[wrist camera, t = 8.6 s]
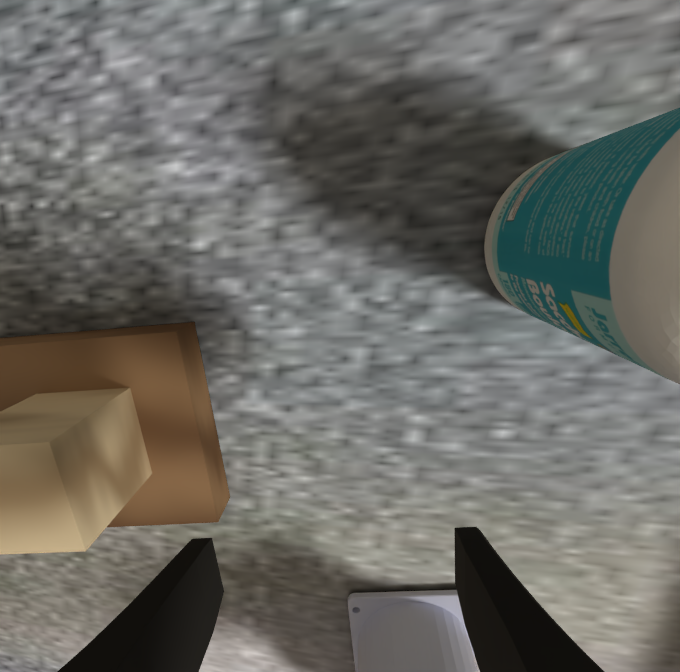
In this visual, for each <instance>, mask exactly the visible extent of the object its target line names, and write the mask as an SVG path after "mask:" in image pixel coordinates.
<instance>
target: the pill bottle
mask: <svg viewBox="0 0 680 672" xmlns="http://www.w3.org/2000/svg"><path fill="white" fill-rule="evenodd" d="M484 252H485V261H486V266H487V270H488V273H489V275H490V278H491V280H492V282H493V284H494V285H495V287H496V288H497V290H498V291H499V292H500V294H501V295H502V296H503V297H504V298H505V299H506V300H507V301H508V302H509V303H511V304H512V305H513V306H515V307H516V308H518V309H519V310H521V311H523V312H525V313H527V314H529V315H531V316H533V317H536V318H538V319H540V320H542V321H545V322H547V323H549V324H551V325H553V326H555V327H557V328H559V329H562V330H564V331H566V332H568V333H570V334H572V335H575V336H577V337H579V338H581V339H584V340H586V341H588V342H590V343H592V344H594V345H596V346H599V347H601V348H603V349H605V350H607V351H610V352H612V353H614V354H616V355H618V356H620V357H622V358H624V359H627V360H629V361H631V362H633V363H635V364H637V365H639V366H642V367H644V368H646V369H648V370H650V371H652V372H654V373H656V374H658V375H660V376H663V377H665V378H667V379H669V380H671V381H674V382H676V383H678V384H680V108H678V109H675V110H672V111H670V112H667V113H665V114H662V115H659V116H657V117H654V118H652V119H649V120H646V121H644V122H641V123H638V124H636V125H633V126H631V127H628V128H625V129H623V130H620V131H618V132H615V133H612V134H610V135H607V136H604V137H602V138H599V139H597V140H594V141H591V142H589V143H586V144H583V145H581V146H578V147H576V148H573V149H570V150H567V151H565V152H562V153H560V154H558V155H555V156H553V157H550V158H548V159H546V160H543V161H541V162H539V163H538V164H536V165H534V166H533V167H531V168H529V169H528V170H527V171H525V172H524V173H523V174H521V175H520V176H519V177H518V178H517V179H516V180H515V181H514V182H513V183H512V184H511V185H510V186H509V187H508V188H507V190H506V191H505V192H504V193H503V195H502V196H501V198H500V199H499V201H498V202H497V204H496V206H495V208H494V210H493V212H492V214H491V217H490V219H489V222H488V226H487V230H486V235H485V243H484Z"/></svg>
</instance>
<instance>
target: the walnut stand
mask: <svg viewBox="0 0 680 672" xmlns="http://www.w3.org/2000/svg"><path fill="white" fill-rule="evenodd" d="M117 388H130V389H131V393H132V397H133V401H134V405H135V408H136V412H137V416H138V420H139V424H140V428H141V432H142V436H143V439H144V443H145V447H146V451H147V455H148V459H149V463H150V467H151V470H152V474H151V476H150V477H149V478H148V479H147V480H146V481H145V483H144V484H143V485H142V486H141V487H140V488H139V490H138V491H137V492H136V493H135V494H134V496H133V497H132V498H131V499H130V500H129V501H128V503H127V504H126V505H125V506H124V507H123V508H122V510H121V511H120V512H119V513H118V514H117V515H116V517H115V518H114V519H113V520H112V521H111V522H110V524H109V525H108V526H107V527H121V526H144V525H166V524H188V523H210V522H218V521H219V519H220V517H221V515H222V513H223V511H224V509H225V507H226V505H227V503H228V500H229V498H230V494H229V489H228V485H227V480H226V475H225V470H224V465H223V460H222V455H221V450H220V445H219V440H218V435H217V430H216V426H215V421H214V416H213V411H212V406H211V401H210V396H209V391H208V386H207V381H206V376H205V371H204V366H203V362H202V357H201V352H200V347H199V342H198V337H197V332H196V327H195V322H188V323H175V324H163V325H151V326H139V327H127V328H115V329H103V330H91V331H79V332H67V333H55V334H43V335H31V336H19V337H7V338H0V412H1V411H3V410H5V409H7V408H9V407H11V406H13V405H15V404H17V403H19V402H21V401H23V400H25V399H27V398H29V397H31V396H33V395H35V394H42V393H57V392H72V391H87V390H102V389H117Z"/></svg>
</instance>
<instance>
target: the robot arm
mask: <svg viewBox="0 0 680 672" xmlns="http://www.w3.org/2000/svg"><path fill="white" fill-rule="evenodd" d="M455 584H456V589H457V590H432V591H400V592H368V593H352V594H350V595H349V596H348V612H349V621H350V629H351V638H352V647H353V656H354V665H355V672H478V670H477V667H476V663H475V658H476V661H477V664H478V667H479V670H480V672H604V671H603V670H602V669H601V668H600V667H599V666H598V665H597V664H596V663H595V662H594V661H593V660H592V659H591V658H590V657H589V656H588V655H587V654H586V653H585V652H584V651H583V650H582V649H581V648H580V647H579V646H578V645H577V644H576V643H575V642H574V641H573V640H572V639H571V638H570V637H569V636H568V635H567V634H566V633H565V632H564V631H563V630H562V628H561V627H560V626H559V625H558V624H557V623H556V622H555V621H554V620H553V619H552V618H551V617H550V616H549V614H548V613H547V612H546V611H545V610H544V609H543V608H542V607H541V606H540V604H539V603H538V602H537V601H536V600H535V599H534V598H533V596H532V595H531V594H530V593H529V592H528V590H527V589H526V588H525V587H524V586H523V585H522V583H521V582H520V581H519V580H518V579H517V578H516V576H515V575H514V574H513V573H512V571H511V570H510V569H509V568H508V566H507V565H506V564H505V563H504V561H503V560H502V559H501V558H500V556H499V555H498V554H497V552H496V551H495V550H494V549H493V547H492V546H491V545H490V543H489V542H488V540H487V539H486V538H485V536H484V535H483V534H482V532H481V531H480V530H479V529H478V528H477V527H463V528H455ZM223 592H224V590H223V585H222V581H221V576H220V572H219V568H218V563H217V559H216V554H215V550H214V546H213V541H212V538H201V539H192V540H191V541H190V542H189V543H188V544H187V545H186V546H185V547H184V548H183V549H182V550H181V551H180V552H179V553H178V554H177V555H176V556H175V557H174V559H173V560H172V561H171V562H170V563H169V564H168V565H167V566H166V567H165V568H164V569H163V570H162V571H161V572H160V573H159V574H158V575H157V577H156V578H155V579H154V580H153V581H152V582H151V583H150V584H149V585H148V586H147V587H146V588H145V589H144V590H143V591H142V592H141V593H140V594H139V595H138V596H137V597H136V598H135V599H134V600H133V601H132V602H131V603H130V604H129V605H128V606H127V607H126V608H125V609H124V610H123V611H122V612H121V613H120V614H119V615H118V616H117V617H116V618H115V619H114V620H113V621H112V622H111V623H110V624H109V625H108V626H107V627H106V628H105V629H104V630H103V631H102V632H101V633H100V634H99V635H97V636H96V637H95V638H94V639H93V640H92V641H91V642H90V643H89V644H88V645H87V646H86V647H85V648H84V649H83V650H81V651H80V652H79V653H78V654H77V655H76V656H75V657H74V658H73V659H71V660H70V661H69V662H68V663H67V664H66V665H65V666H63V667H62V668H61V669H60V670H59V671H58V672H199V669H200V666H201V664H202V661H203V658H204V655H205V653H206V650H207V647H208V645H209V642H210V639H211V636H212V634H213V631H214V627H215V623H216V620H217V616H218V612H219V608H220V604H221V600H222V596H223Z"/></svg>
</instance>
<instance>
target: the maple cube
mask: <svg viewBox="0 0 680 672" xmlns="http://www.w3.org/2000/svg"><path fill="white" fill-rule="evenodd" d="M151 474H152V470H151V467H150V463H149V459H148V455H147V451H146V447H145V443H144V439H143V436H142V432H141V428H140V424H139V420H138V416H137V412H136V408H135V405H134V401H133V397H132V393H131V389H130V388H117V389H102V390H87V391H72V392H57V393H42V394H35V395H33V396H31V397H29V398H27V399H25V400H23V401H21V402H19V403H17V404H15V405H13V406H11V407H9V408H7V409H5V410H3V411H1V412H0V554H24V553H51V552H79V551H86V550H87V549H88V548H89V547H90V546H91V545H92V543H93V542H94V541H95V540H96V539H97V538H98V536H99V535H100V534H101V533H102V532H103V531H104V529H105V528H106V527H107V526H108V525H109V524H110V522H111V521H112V520H113V519H114V518H115V517H116V515H117V514H118V513H119V512H120V511H121V510H122V508H123V507H124V506H125V505H126V504H127V503H128V501H129V500H130V499H131V498H132V497H133V496H134V494H135V493H136V492H137V491H138V490H139V488H140V487H141V486H142V485H143V484H144V483H145V481H146V480H147V479H148V478H149V477H150V476H151Z"/></svg>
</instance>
